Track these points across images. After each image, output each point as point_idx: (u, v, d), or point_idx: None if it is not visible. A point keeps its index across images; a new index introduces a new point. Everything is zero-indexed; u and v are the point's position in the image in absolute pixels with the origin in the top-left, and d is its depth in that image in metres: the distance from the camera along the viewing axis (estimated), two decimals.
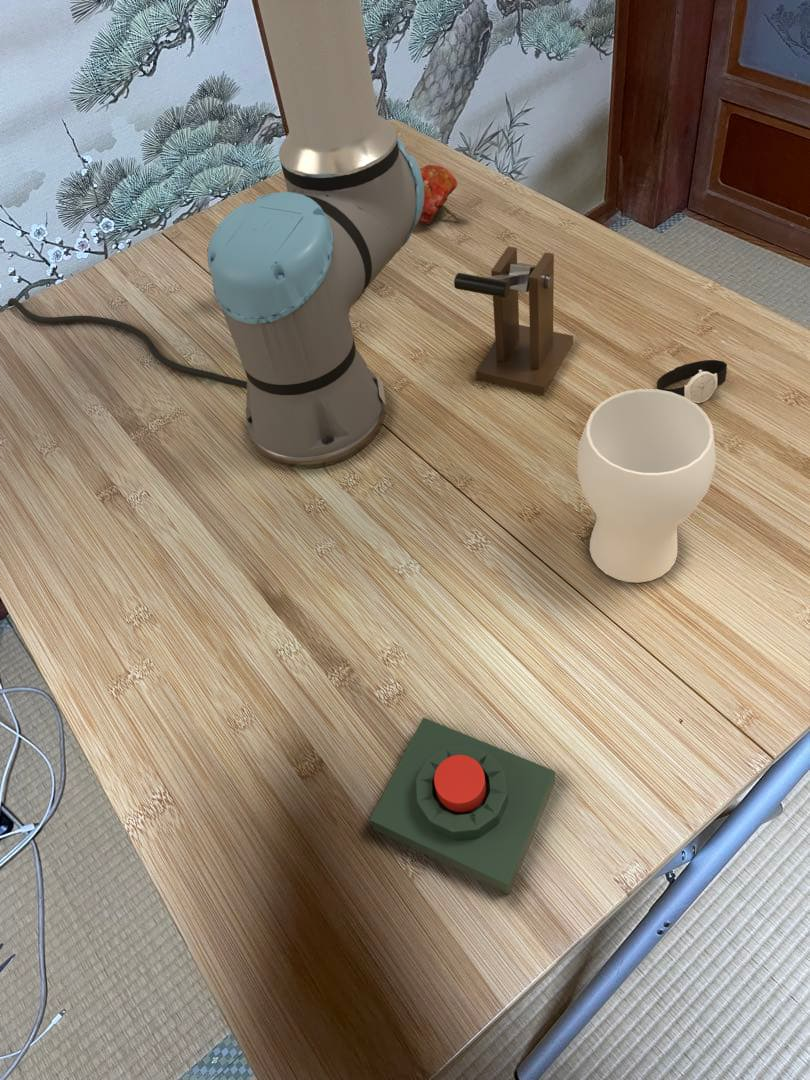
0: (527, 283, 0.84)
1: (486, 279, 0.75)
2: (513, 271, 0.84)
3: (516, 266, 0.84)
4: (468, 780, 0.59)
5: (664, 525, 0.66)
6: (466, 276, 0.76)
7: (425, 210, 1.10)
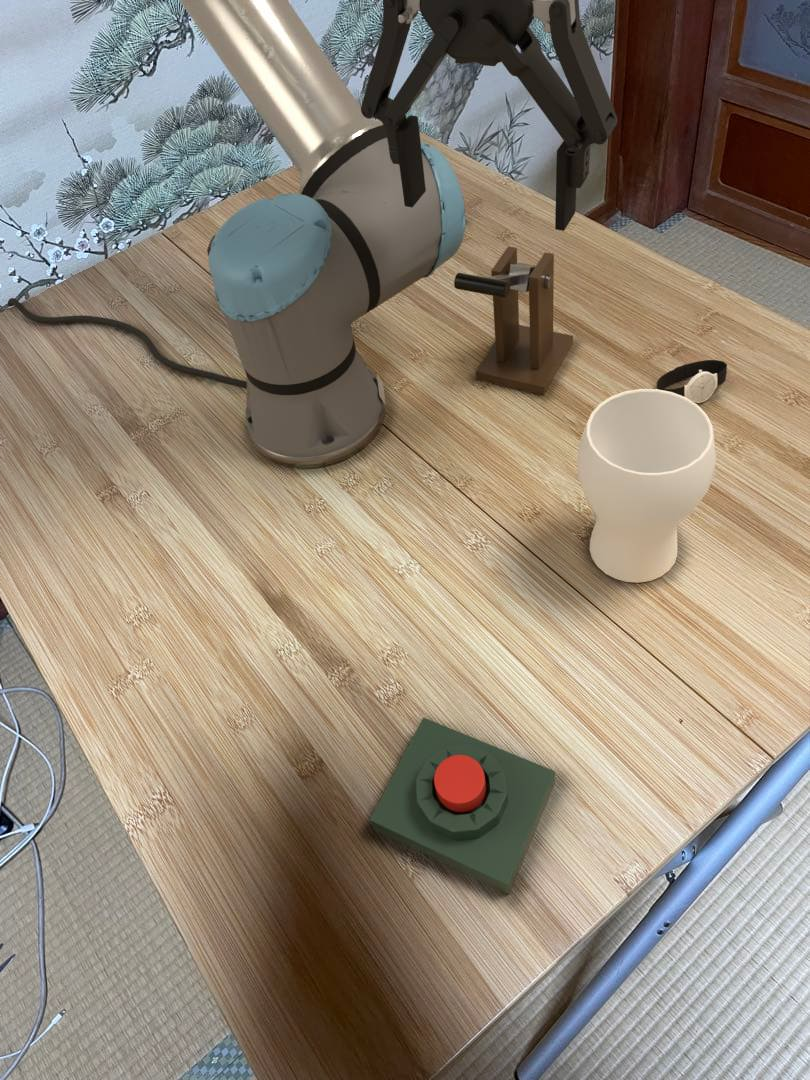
0: (527, 283, 0.84)
1: (486, 279, 0.75)
2: (513, 271, 0.84)
3: (516, 266, 0.84)
4: (468, 780, 0.59)
5: (664, 525, 0.66)
6: (466, 276, 0.76)
7: None
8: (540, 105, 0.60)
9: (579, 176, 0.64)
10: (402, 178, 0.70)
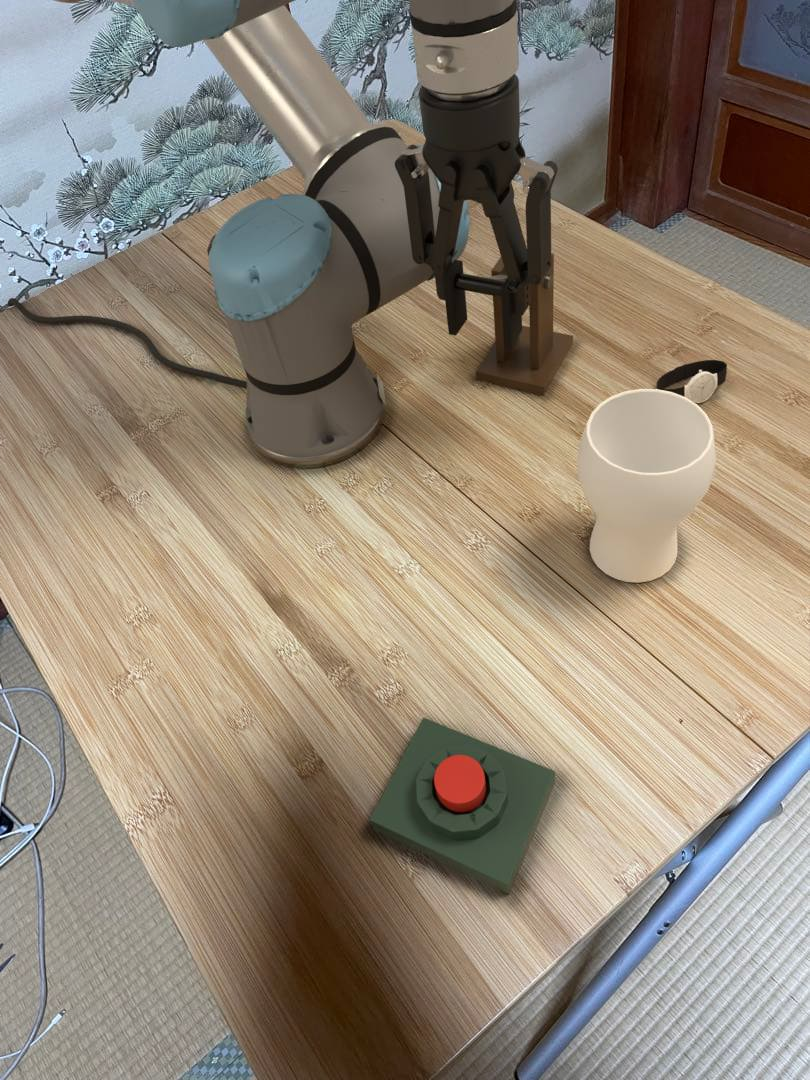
0: None
1: (486, 279, 0.75)
2: None
3: None
4: (468, 780, 0.59)
5: (664, 525, 0.66)
6: (466, 276, 0.76)
7: None
8: (499, 245, 0.70)
9: (521, 306, 0.75)
10: (447, 312, 0.79)
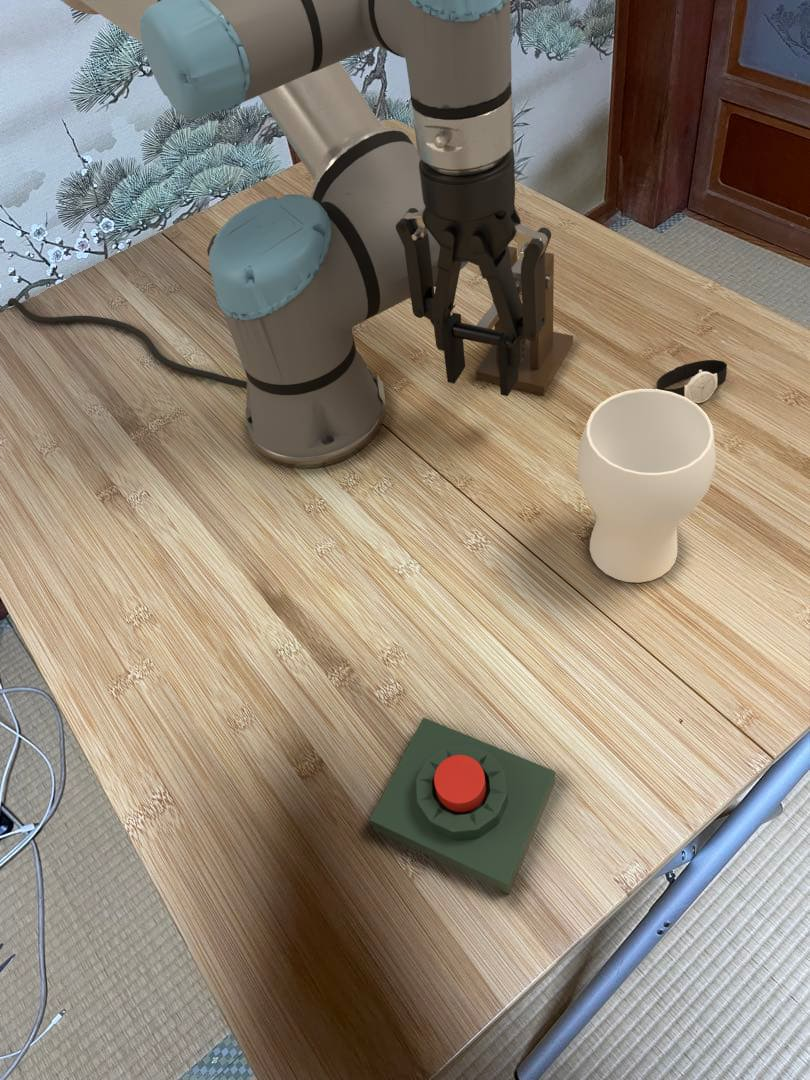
0: None
1: (481, 331, 0.78)
2: None
3: (514, 273, 0.84)
4: (468, 780, 0.59)
5: (664, 525, 0.66)
6: (462, 328, 0.79)
7: None
8: (495, 303, 0.74)
9: (517, 359, 0.78)
10: (446, 362, 0.82)
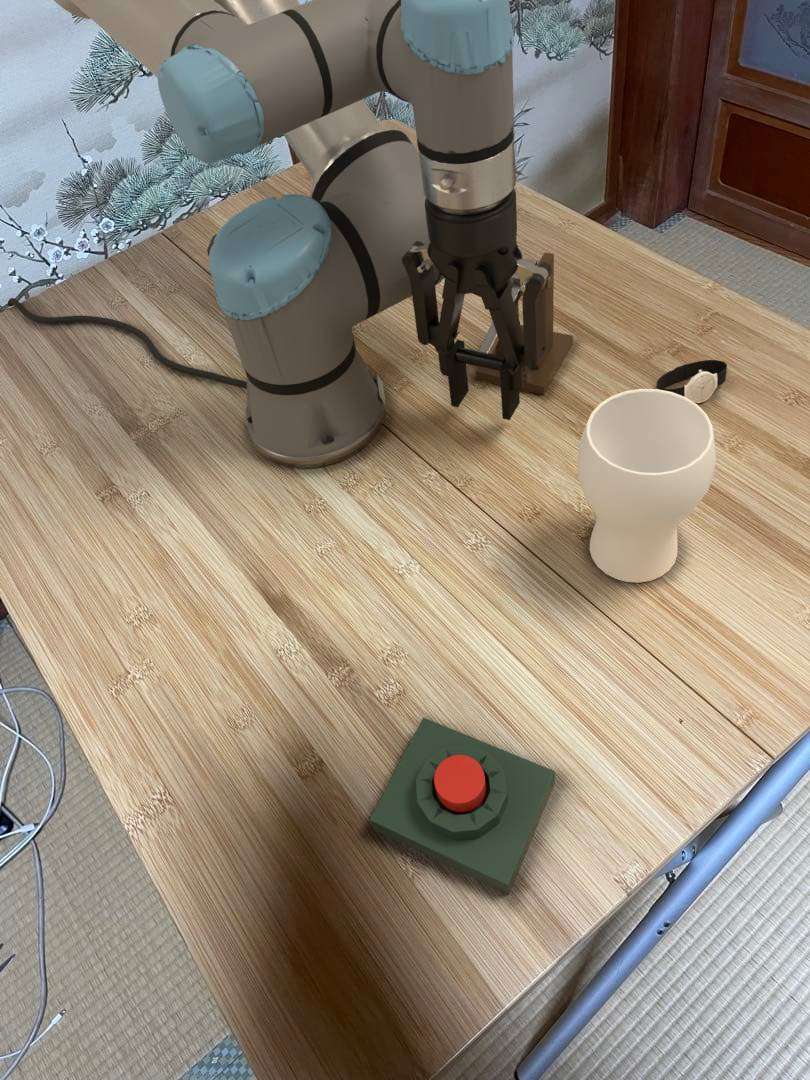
0: None
1: (483, 359, 0.80)
2: (511, 282, 0.84)
3: (513, 278, 0.84)
4: (468, 780, 0.59)
5: (664, 525, 0.66)
6: (465, 356, 0.81)
7: None
8: (498, 333, 0.76)
9: (518, 385, 0.81)
10: (450, 387, 0.84)
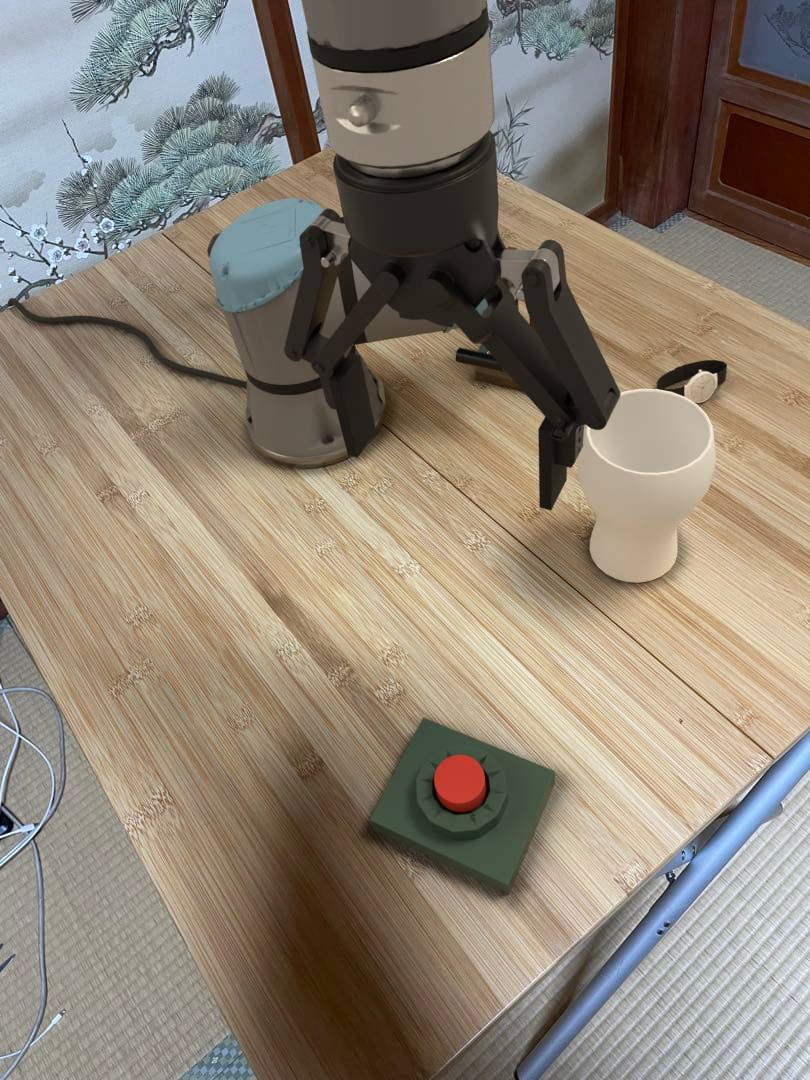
0: None
1: (483, 359, 0.80)
2: (511, 282, 0.84)
3: None
4: (468, 780, 0.59)
5: (664, 525, 0.66)
6: (465, 356, 0.81)
7: None
8: (514, 378, 0.44)
9: (569, 455, 0.47)
10: (342, 427, 0.54)
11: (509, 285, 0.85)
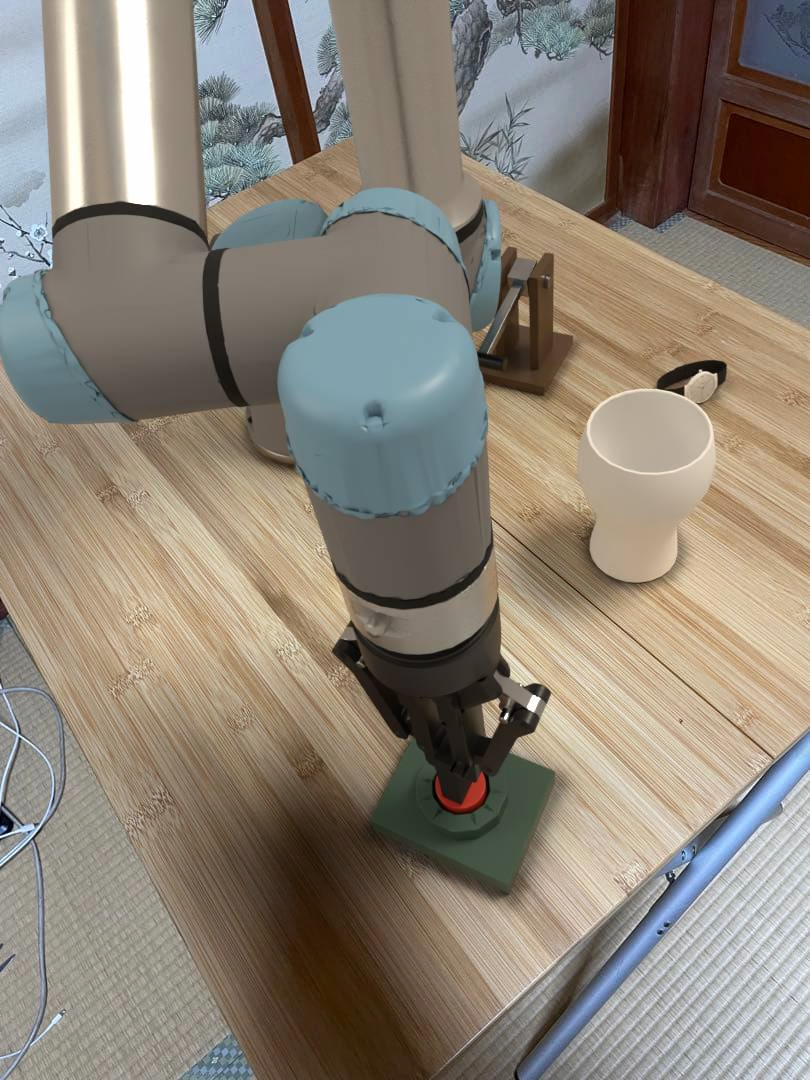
0: (527, 291, 0.85)
1: (483, 359, 0.80)
2: (511, 282, 0.84)
3: (513, 278, 0.84)
4: None
5: (664, 525, 0.66)
6: None
7: None
8: (450, 736, 0.50)
9: (472, 776, 0.55)
10: (440, 783, 0.57)
11: (509, 285, 0.85)
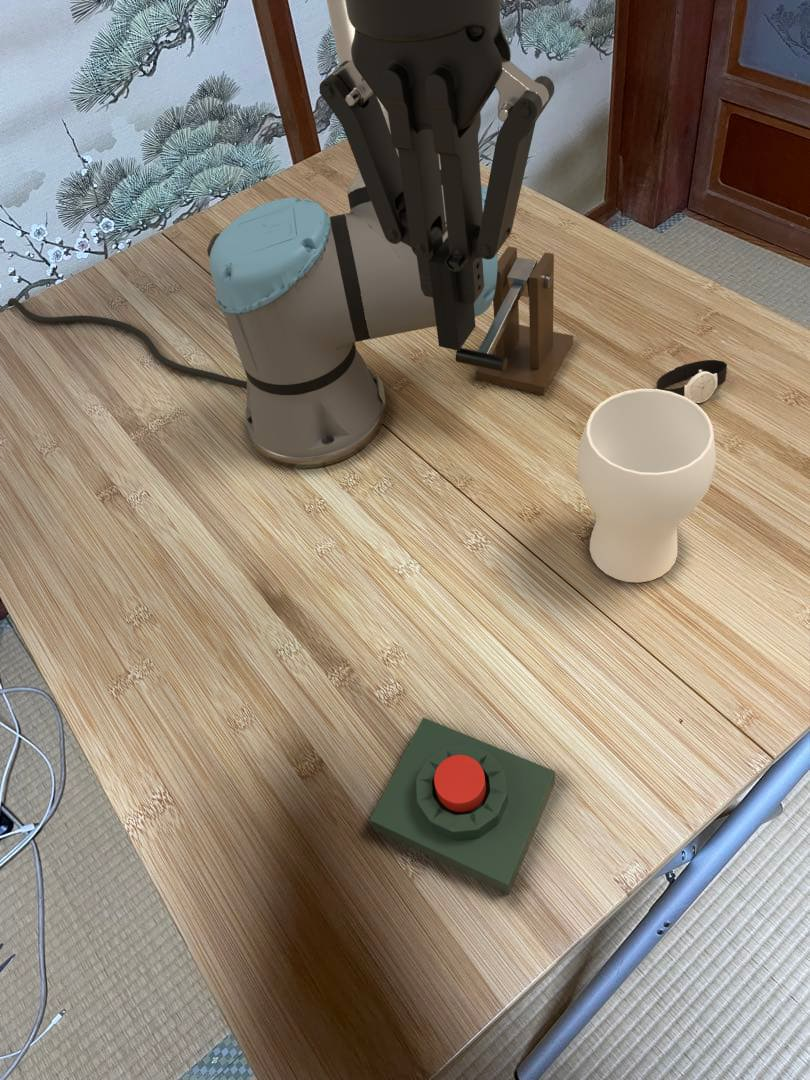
0: (527, 291, 0.85)
1: (483, 359, 0.80)
2: (511, 282, 0.84)
3: (513, 278, 0.84)
4: (468, 780, 0.59)
5: (664, 525, 0.66)
6: (465, 356, 0.81)
7: None
8: (446, 198, 0.47)
9: (470, 292, 0.52)
10: (436, 315, 0.54)
11: (509, 285, 0.85)
